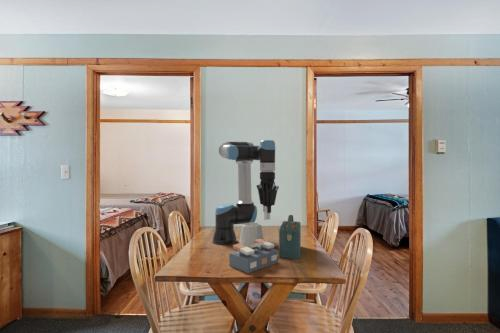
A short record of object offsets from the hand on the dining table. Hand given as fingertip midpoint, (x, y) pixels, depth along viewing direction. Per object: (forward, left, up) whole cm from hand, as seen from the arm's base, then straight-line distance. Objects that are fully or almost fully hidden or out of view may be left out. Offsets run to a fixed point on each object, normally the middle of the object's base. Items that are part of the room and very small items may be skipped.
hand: (267, 219), depth 133 cm
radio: (-3, +23, -22) cm, 31 cm away
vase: (-19, +8, -22) cm, 30 cm away
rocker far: (-3, +1, -14) cm, 14 cm away
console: (-3, -6, -21) cm, 22 cm away
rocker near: (-3, -13, -14) cm, 19 cm away
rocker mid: (-3, -6, -14) cm, 15 cm away
